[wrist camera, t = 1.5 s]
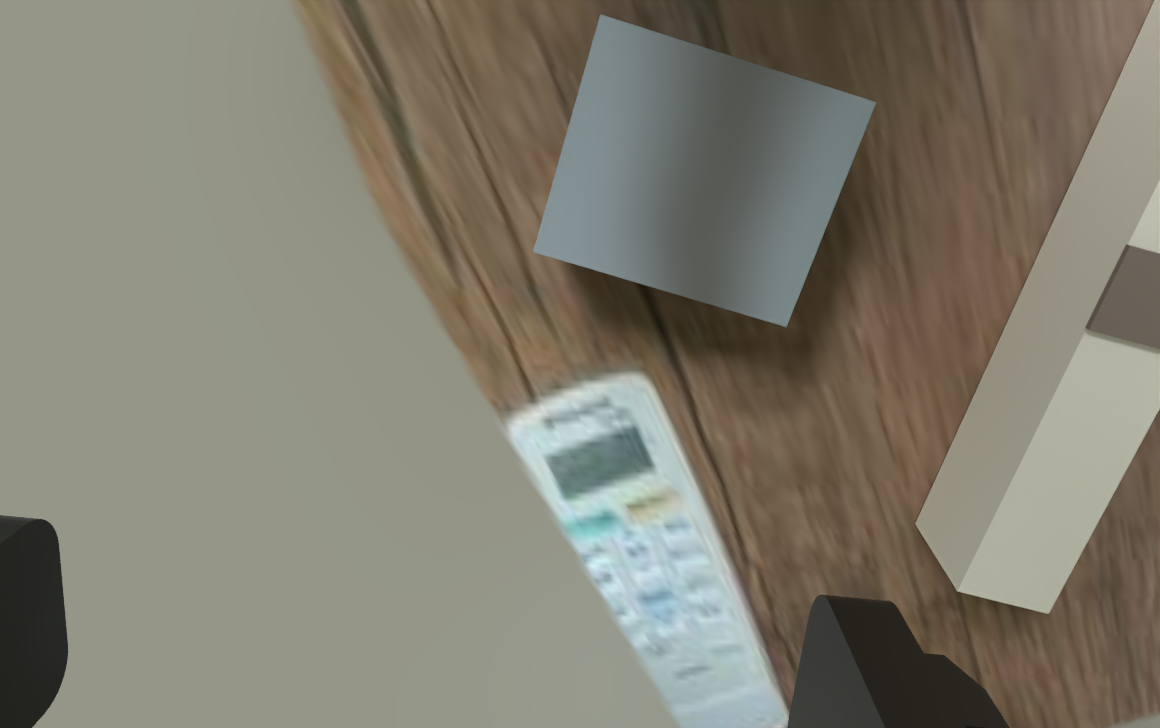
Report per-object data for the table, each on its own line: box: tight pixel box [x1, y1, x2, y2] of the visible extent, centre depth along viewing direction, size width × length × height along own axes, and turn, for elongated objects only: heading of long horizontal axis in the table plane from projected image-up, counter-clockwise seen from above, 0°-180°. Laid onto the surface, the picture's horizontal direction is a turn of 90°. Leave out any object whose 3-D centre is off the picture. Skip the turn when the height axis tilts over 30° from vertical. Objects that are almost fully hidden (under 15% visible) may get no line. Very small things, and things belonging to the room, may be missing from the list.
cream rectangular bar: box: [915, 0, 1160, 614], centre depth 26 cm, size 3×20×4 cm, turn 165°
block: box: [533, 14, 876, 327], centre depth 25 cm, size 7×6×5 cm
